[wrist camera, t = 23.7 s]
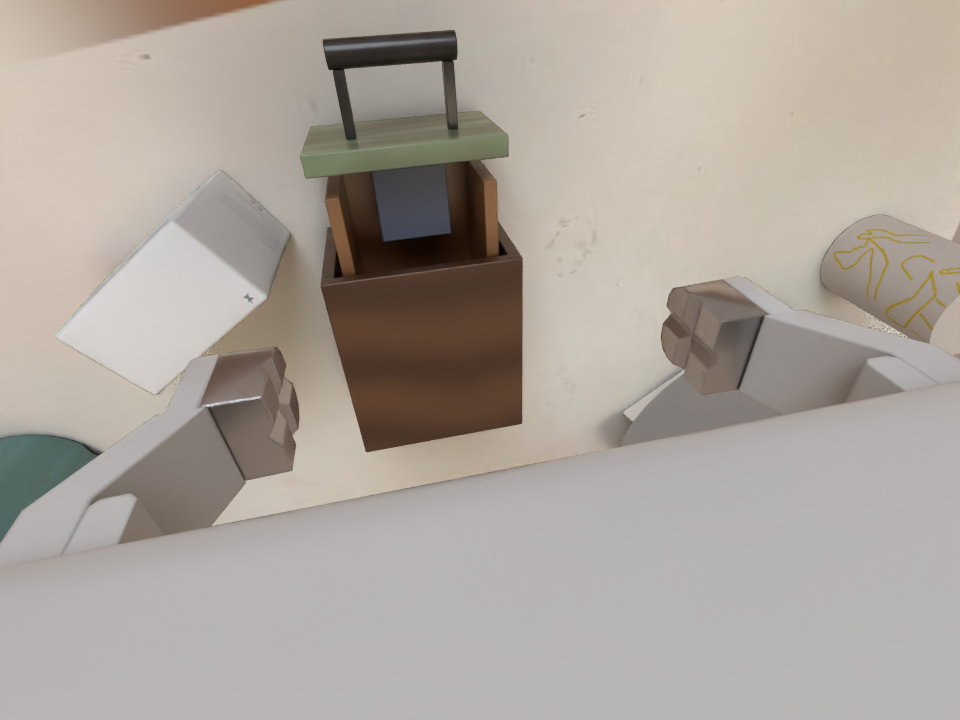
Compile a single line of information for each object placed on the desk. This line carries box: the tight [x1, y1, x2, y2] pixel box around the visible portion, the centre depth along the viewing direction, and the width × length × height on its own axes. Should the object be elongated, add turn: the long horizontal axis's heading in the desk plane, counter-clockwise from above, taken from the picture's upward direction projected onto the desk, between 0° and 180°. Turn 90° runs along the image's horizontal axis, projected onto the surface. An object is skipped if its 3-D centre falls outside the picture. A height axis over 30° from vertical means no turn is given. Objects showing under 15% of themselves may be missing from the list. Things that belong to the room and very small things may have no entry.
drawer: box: [300, 30, 509, 277], centre depth 32 cm, size 18×11×8 cm, turn 3°
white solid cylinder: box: [820, 215, 960, 355], centre depth 44 cm, size 8×8×12 cm
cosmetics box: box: [55, 170, 291, 395], centre depth 32 cm, size 10×6×10 cm, turn 127°
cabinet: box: [321, 222, 523, 452], centre depth 38 cm, size 15×13×10 cm
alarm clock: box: [621, 369, 782, 447], centre depth 50 cm, size 23×6×13 cm, turn 129°
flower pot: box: [0, 435, 98, 543], centre depth 39 cm, size 16×16×16 cm
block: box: [371, 164, 451, 242], centre depth 33 cm, size 4×4×4 cm
